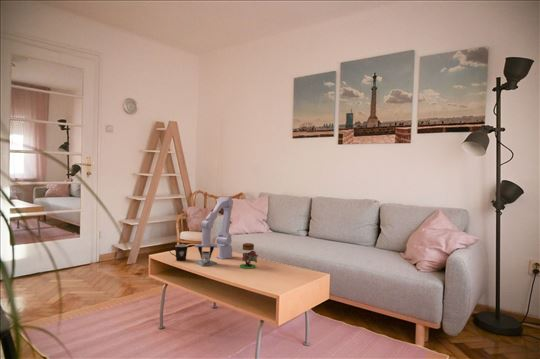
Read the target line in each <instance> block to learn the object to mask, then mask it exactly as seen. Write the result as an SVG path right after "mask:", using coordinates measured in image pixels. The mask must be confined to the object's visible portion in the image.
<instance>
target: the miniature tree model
mask: <svg viewBox="0 0 540 359" xmlns="http://www.w3.org/2000/svg"><path fill="white" fill-rule="evenodd" d="M254 248H255V244H254V243H251V242H246V243H242V250H244V251H250V252H243V253H242V258H241V259H242V262H244V263H242V264H241V263H240V264H239V268H241V269H246V270H247V269H250V270H251V269H255V268H256V264H258V257H259V254H257V252H256V251H255V250H254ZM251 262H255V263H256V264H254V263H251Z"/></svg>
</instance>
